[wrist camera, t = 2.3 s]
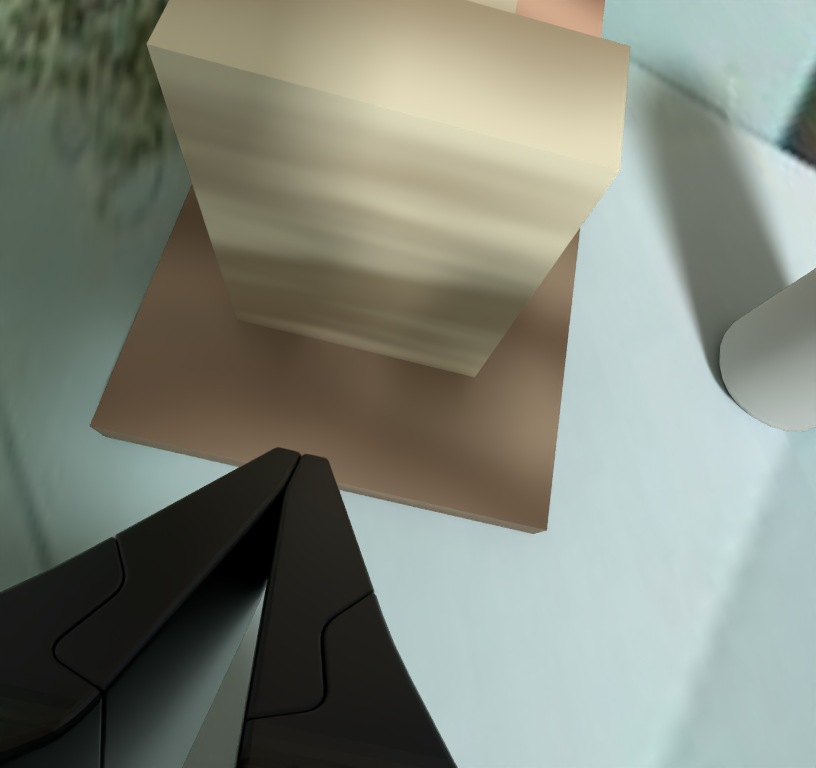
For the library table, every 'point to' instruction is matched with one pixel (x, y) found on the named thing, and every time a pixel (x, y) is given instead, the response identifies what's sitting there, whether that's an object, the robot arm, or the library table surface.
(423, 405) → the board
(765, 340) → the beverage can
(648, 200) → the library table surface
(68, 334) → the library table surface
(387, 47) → the T block
